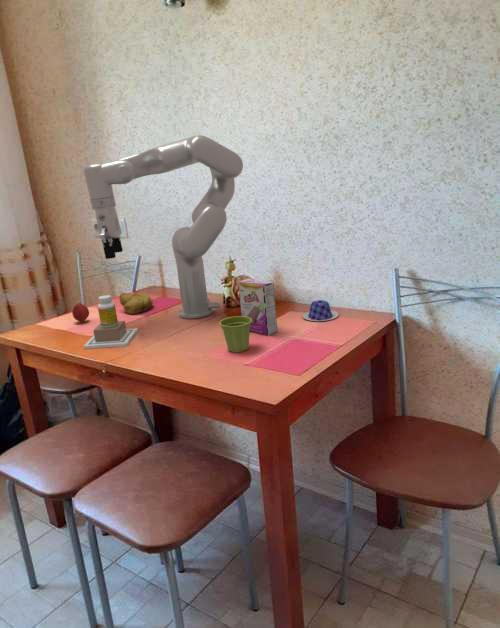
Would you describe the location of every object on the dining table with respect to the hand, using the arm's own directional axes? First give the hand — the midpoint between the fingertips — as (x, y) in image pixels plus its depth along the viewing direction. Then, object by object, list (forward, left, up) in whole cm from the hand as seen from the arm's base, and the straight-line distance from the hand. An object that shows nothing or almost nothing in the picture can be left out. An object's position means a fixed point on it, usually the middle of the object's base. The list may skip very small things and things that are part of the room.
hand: (114, 255), depth 170 cm
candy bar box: (-47, +13, -26) cm, 55 cm away
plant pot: (-41, +27, -26) cm, 55 cm away
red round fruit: (+20, -11, -26) cm, 35 cm away
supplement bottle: (+2, +11, -21) cm, 24 cm away
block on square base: (+2, +11, -26) cm, 28 cm away
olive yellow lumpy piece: (+1, -21, -26) cm, 34 cm away
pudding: (-67, +2, -27) cm, 72 cm away
